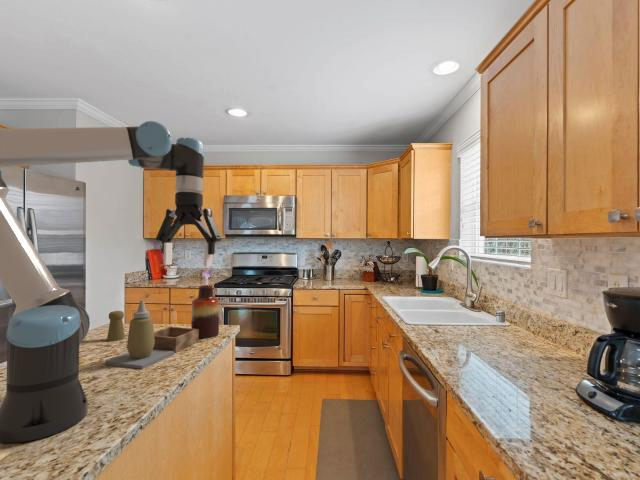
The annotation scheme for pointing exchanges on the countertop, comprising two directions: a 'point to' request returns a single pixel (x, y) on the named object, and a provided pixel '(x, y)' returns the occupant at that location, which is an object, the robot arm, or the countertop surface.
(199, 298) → the vase
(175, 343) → the bottle holder
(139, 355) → the squeeze bottle
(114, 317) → the cork
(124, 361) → the slate mat
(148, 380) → the countertop surface
